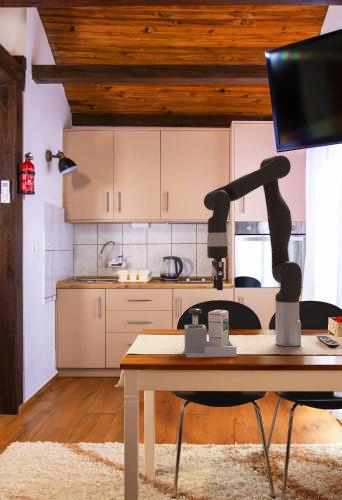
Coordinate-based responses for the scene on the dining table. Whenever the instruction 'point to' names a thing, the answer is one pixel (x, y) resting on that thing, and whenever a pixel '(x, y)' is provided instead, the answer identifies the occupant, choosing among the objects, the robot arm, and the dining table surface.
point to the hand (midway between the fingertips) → (218, 289)
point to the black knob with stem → (195, 316)
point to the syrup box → (218, 328)
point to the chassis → (204, 344)
